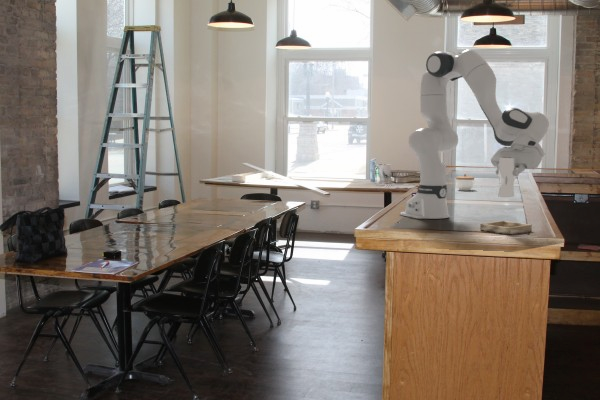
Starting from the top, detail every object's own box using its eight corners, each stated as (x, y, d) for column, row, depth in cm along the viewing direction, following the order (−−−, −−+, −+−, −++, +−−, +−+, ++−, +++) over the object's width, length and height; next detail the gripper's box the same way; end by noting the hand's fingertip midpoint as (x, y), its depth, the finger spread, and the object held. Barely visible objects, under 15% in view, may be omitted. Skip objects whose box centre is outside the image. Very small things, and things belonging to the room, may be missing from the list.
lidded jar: (472, 189, 447) (473, 173, 446) (475, 191, 437) (475, 175, 436) (454, 189, 449) (454, 173, 447) (456, 190, 438) (456, 175, 437)
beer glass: (502, 197, 282) (504, 158, 280) (493, 195, 288) (495, 156, 286) (519, 197, 283) (521, 158, 281) (510, 195, 290) (512, 156, 288)
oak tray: (480, 230, 288) (480, 223, 288) (502, 227, 296) (503, 220, 296) (508, 235, 278) (509, 228, 277) (531, 231, 286) (531, 224, 285)
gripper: (497, 141, 296) (480, 167, 291) (541, 142, 279) (524, 170, 275) (504, 152, 299) (488, 178, 294) (548, 154, 282) (531, 181, 278)
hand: (506, 174), depth 284 cm, fingers closed on beer glass, 7 cm apart
